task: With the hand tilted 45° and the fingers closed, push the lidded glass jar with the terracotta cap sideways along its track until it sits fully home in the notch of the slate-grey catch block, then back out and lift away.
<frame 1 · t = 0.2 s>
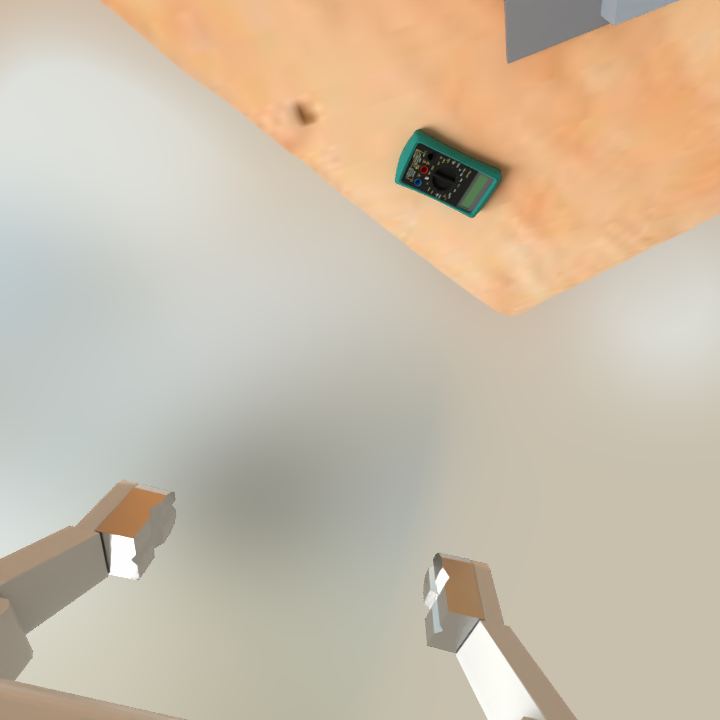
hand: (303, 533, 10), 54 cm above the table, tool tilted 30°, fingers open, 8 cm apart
digital multimeter: (446, 171, 52), on the table
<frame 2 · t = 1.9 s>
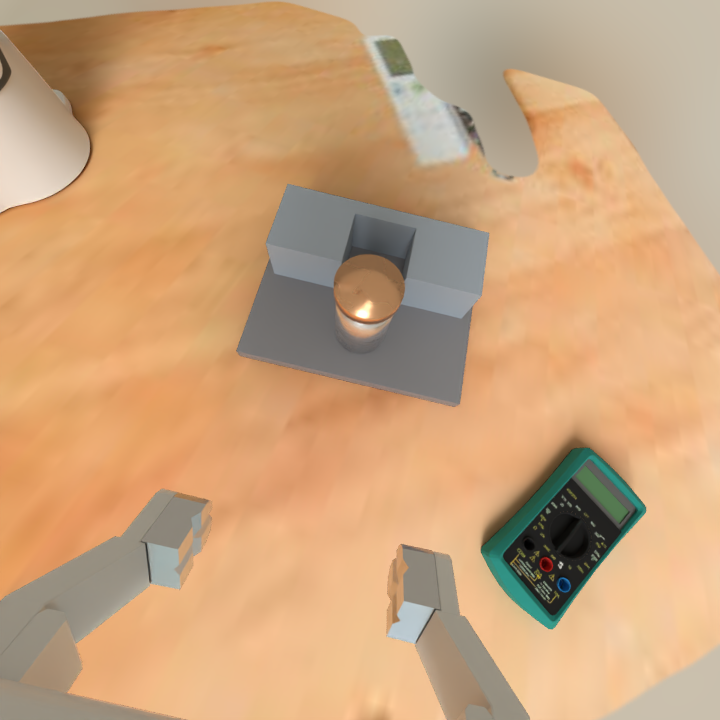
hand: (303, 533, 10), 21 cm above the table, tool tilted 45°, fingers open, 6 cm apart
digital multimeter: (553, 526, 32), on the table
lidded glass jar: (364, 310, 30), point 6 cm above the table, slide at -6.0 cm
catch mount: (364, 311, 36), on the table
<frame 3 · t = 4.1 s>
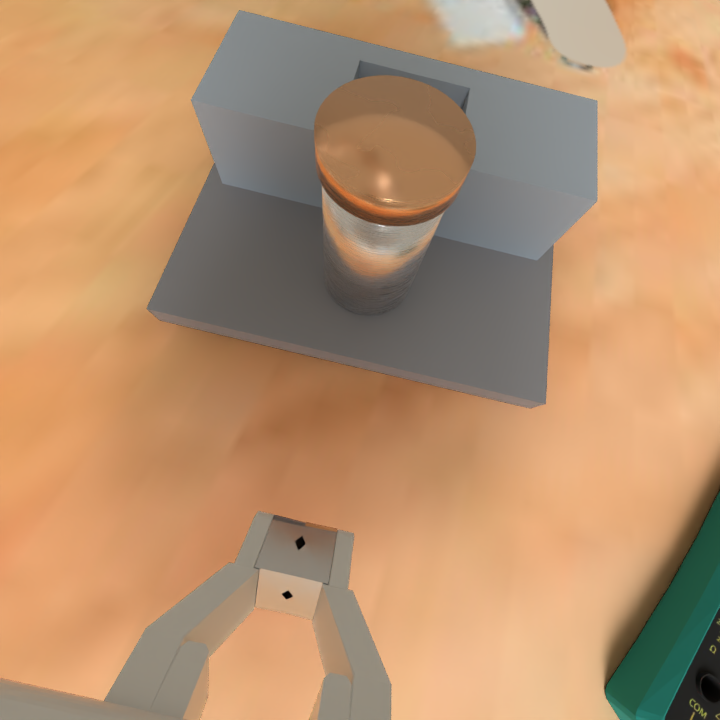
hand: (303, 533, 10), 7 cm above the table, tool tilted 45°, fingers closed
digital multimeter: (716, 622, 18), on the table
lidded glass jar: (378, 223, 15), point 6 cm above the table, slide at -6.0 cm
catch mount: (374, 250, 22), on the table
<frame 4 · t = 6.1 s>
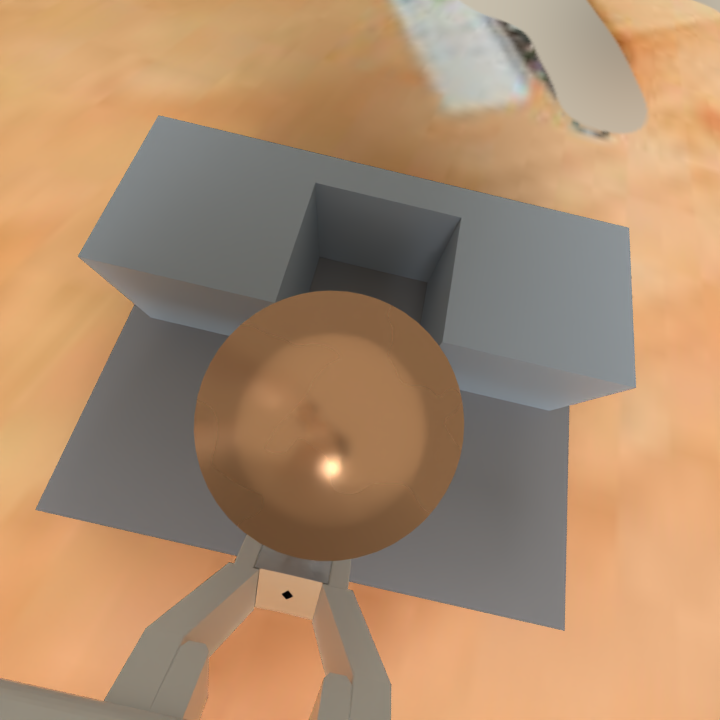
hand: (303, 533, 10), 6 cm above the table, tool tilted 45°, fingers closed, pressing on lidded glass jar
lidded glass jar: (332, 432, 11), point 6 cm above the table, slide at -5.8 cm, touching gripper
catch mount: (345, 390, 18), on the table
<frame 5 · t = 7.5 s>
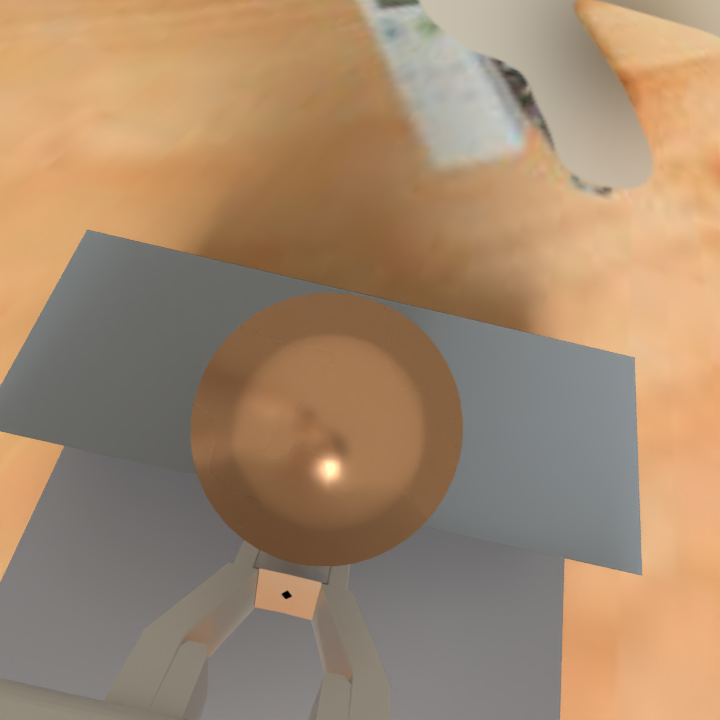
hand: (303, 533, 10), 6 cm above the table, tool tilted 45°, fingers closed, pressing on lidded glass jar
lidded glass jar: (331, 432, 11), point 6 cm above the table, slide at 0.1 cm, touching gripper
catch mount: (315, 509, 16), on the table
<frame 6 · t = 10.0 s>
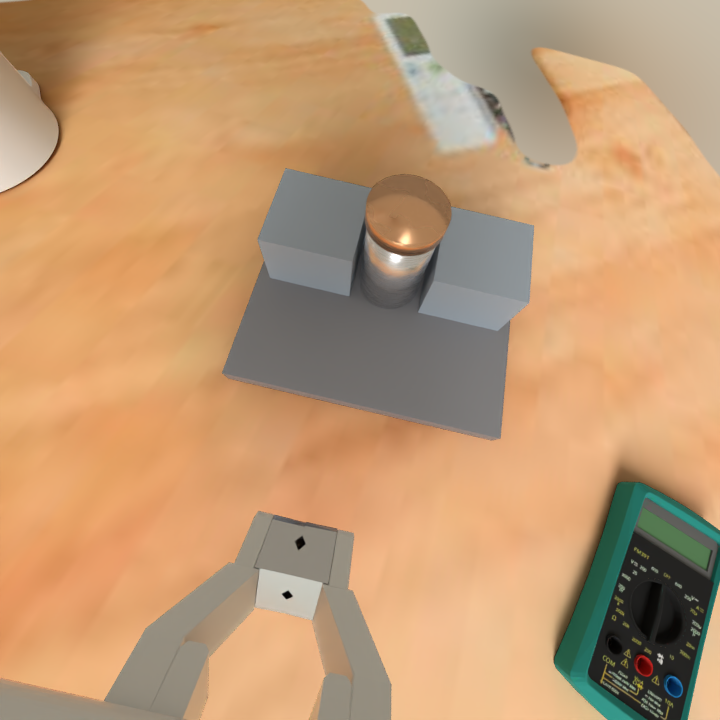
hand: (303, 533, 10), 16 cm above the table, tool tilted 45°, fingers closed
digital multimeter: (626, 592, 25), on the table
lidded glass jar: (397, 251, 25), point 6 cm above the table, slide at 0.0 cm
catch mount: (379, 322, 30), on the table
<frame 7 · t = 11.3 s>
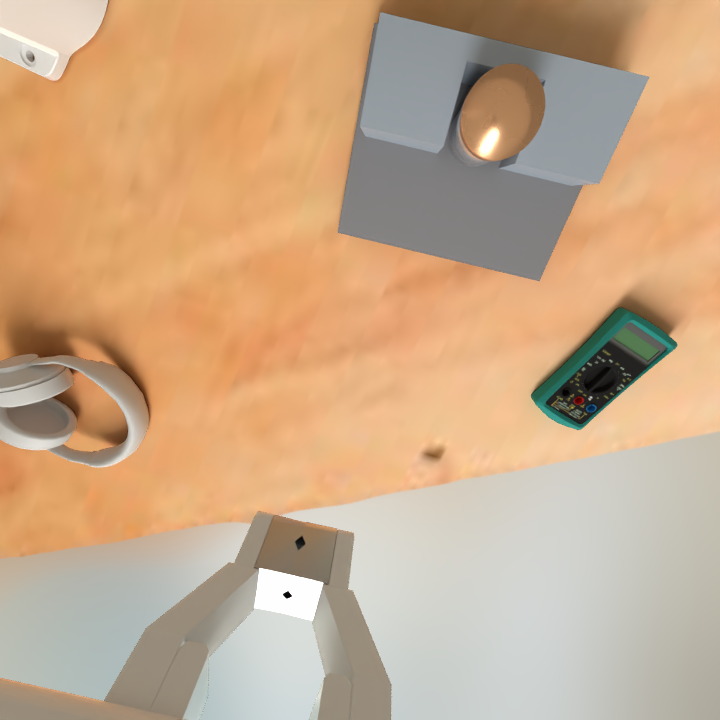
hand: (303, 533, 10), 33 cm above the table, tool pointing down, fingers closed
headphones: (92, 398, 52), on the table
digital multimeter: (591, 366, 42), on the table
lidded glass jar: (487, 126, 27), point 6 cm above the table, slide at 0.0 cm
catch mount: (461, 173, 34), on the table
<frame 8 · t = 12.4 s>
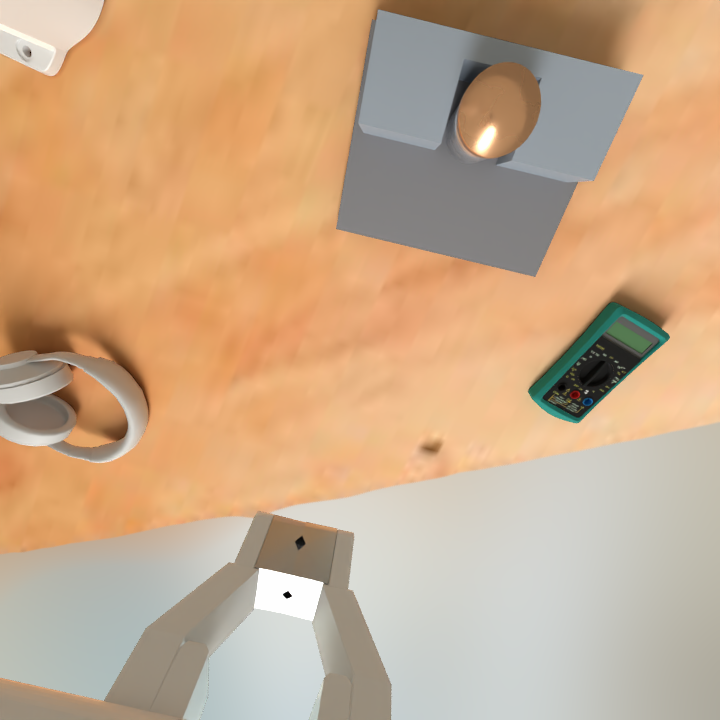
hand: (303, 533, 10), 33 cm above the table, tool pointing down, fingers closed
headphones: (91, 394, 52), on the table
digital multimeter: (586, 360, 42), on the table
lidded glass jar: (484, 123, 27), point 6 cm above the table, slide at 0.0 cm
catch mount: (459, 170, 34), on the table
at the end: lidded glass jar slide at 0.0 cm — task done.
